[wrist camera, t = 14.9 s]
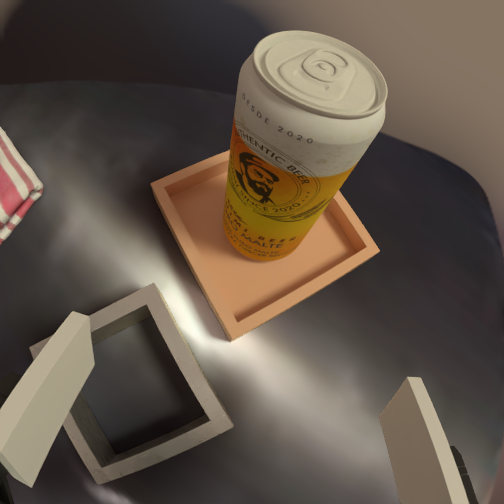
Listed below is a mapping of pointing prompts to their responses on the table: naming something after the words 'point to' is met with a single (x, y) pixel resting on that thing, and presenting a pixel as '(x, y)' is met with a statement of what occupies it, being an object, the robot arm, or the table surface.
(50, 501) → the table surface
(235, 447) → the table surface
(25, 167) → the dish towel
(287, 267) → the serving tray
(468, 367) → the table surface
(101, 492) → the table surface
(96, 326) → the frame
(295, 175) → the beer can
